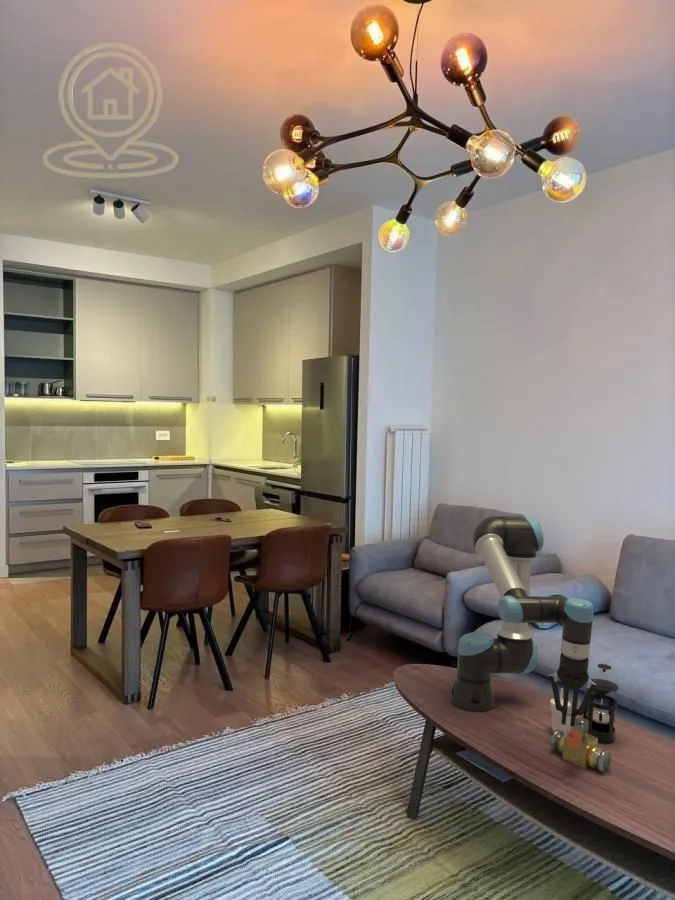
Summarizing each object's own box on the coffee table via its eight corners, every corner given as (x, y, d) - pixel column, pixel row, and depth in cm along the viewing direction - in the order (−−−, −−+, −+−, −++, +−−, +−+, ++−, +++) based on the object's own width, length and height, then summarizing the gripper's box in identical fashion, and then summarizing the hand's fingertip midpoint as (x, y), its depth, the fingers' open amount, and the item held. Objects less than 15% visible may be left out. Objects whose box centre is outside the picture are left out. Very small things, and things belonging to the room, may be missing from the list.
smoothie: (570, 730, 215) (573, 687, 214) (568, 738, 210) (571, 695, 209) (549, 725, 218) (552, 683, 217) (546, 733, 212) (549, 690, 211)
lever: (576, 726, 199) (577, 716, 198) (589, 730, 197) (590, 719, 197) (565, 745, 187) (566, 734, 187) (578, 749, 185) (579, 738, 185)
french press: (623, 742, 209) (629, 670, 207) (601, 747, 205) (606, 673, 204) (594, 725, 220) (600, 656, 218) (572, 729, 216) (578, 659, 214)
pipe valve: (548, 752, 201) (550, 723, 200) (560, 745, 205) (562, 718, 204) (600, 775, 189) (602, 745, 188) (610, 768, 193) (613, 739, 192)
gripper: (549, 654, 187) (542, 736, 189) (598, 664, 183) (590, 747, 184) (552, 646, 194) (544, 724, 196) (599, 655, 189) (591, 735, 191)
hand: (567, 735), depth 190 cm, fingers closed
